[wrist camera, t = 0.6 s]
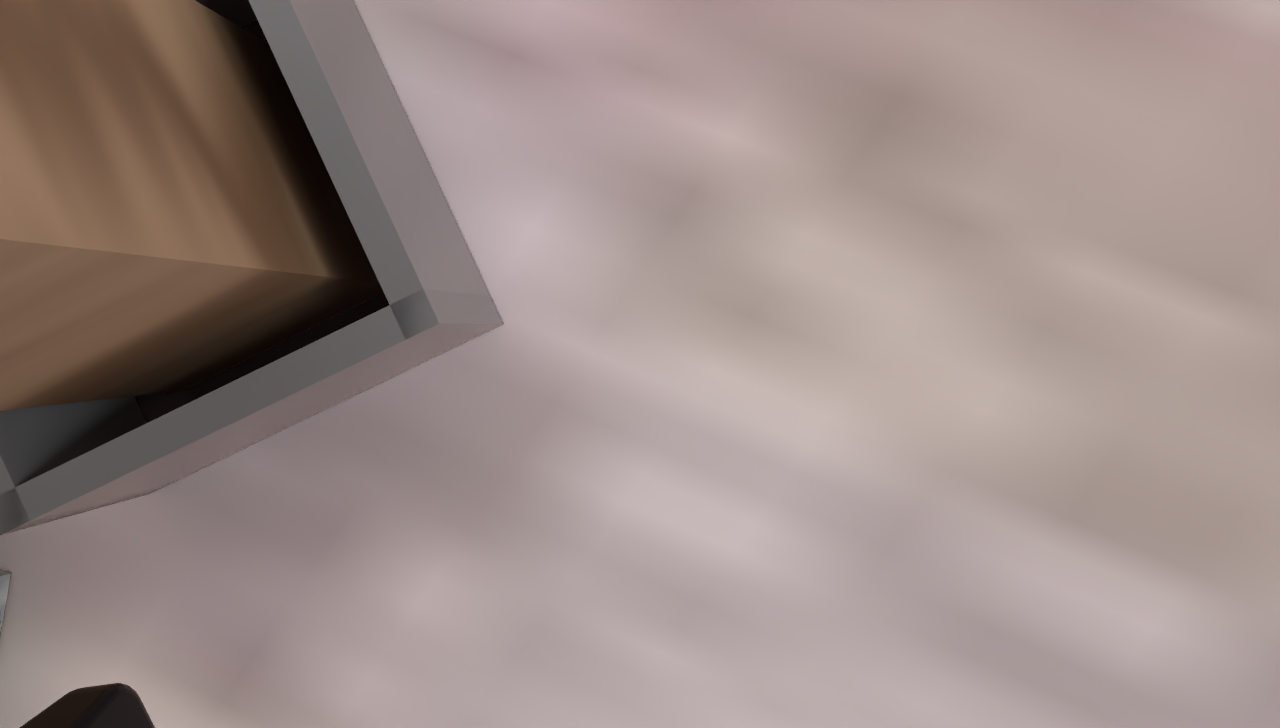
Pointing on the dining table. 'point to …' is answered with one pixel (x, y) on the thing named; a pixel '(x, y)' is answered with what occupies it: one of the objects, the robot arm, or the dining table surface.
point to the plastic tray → (3, 593)
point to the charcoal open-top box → (320, 372)
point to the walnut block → (155, 202)
